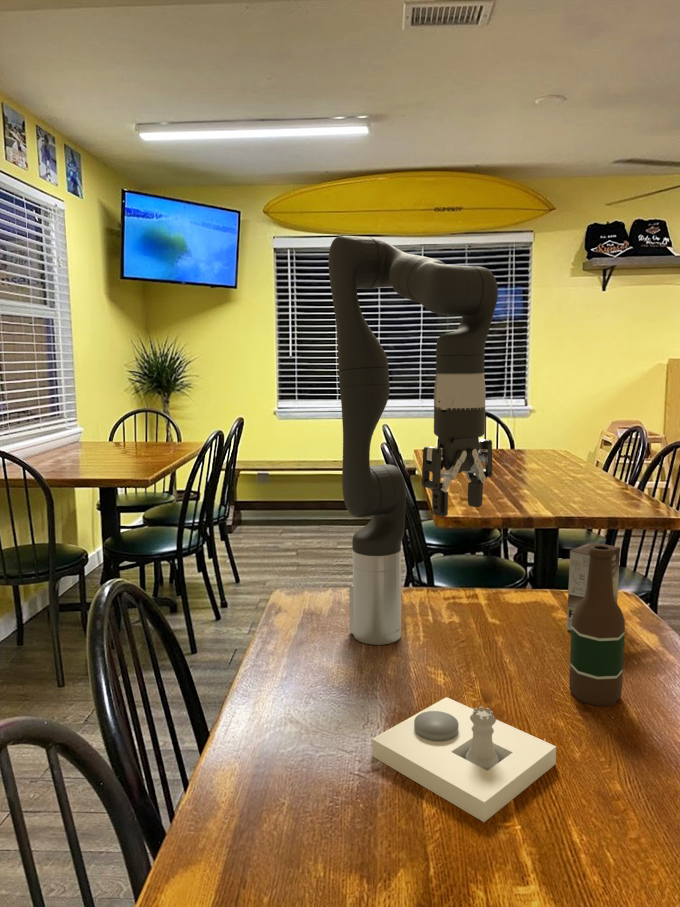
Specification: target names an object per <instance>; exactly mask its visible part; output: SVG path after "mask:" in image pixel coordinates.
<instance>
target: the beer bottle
mask: <svg viewBox="0 0 680 907" xmlns="http://www.w3.org/2000/svg"><path fill="white" fill-rule="evenodd" d="M588 554H589V555H590V562H589V571H588V580H587V588H586V592H585V596H584V598H583V599H582V600H581V601H580V603H579V604H578V605H577V607H576V609H575V611H574V613H573V618H572V626H571V631H570V652H569V653H570V655H569V656H570V657H569V678H568V679H569V691H570V693H571V694H572V693H573V694H572V695H573V696H574V697H575V698H576V700H578V701H579V702H583V703H585V704H588V705H592V706H595V707H604V706H614V705H616V703H617V702H618V701H619V699H620V698H621V696H622V691H623V678H624V677H623V676H624V660H625V659H624V656H625V655H624V654H625V638H626V624H625V623H626V622H625V616H624V614H623V611H622V609H621V607H620V606H619V604H618V602H617V603H616V601H615V600H614V593H613V567H612V557H613V556H614V555H615V554H614V550H613V549H612V548H610V547H608V546H602V545H595V546H592V547H590V549H589V552H588ZM617 700H618V701H617Z"/></svg>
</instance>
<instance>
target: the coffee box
mask: <svg viewBox="0 0 680 907" xmlns="http://www.w3.org/2000/svg"><path fill="white" fill-rule="evenodd" d="M595 545H602V546H608V547H610V548H612V549H613V550H614V554H615V555H614V556H613V557H612V567H613V593H614V600H615V601H616V603H617V604H618V598H619V596H618V595H619V594H618V593H619V580H620V576H619V574H620V559H621V558H620V557H621V547H620V546H615V545H610V544H609V545H608V544H605V543H596V542H592V541H590V542H588V543H585V544H583V545H580V546H577V547H575V548H573V549H570V550H569V565H568V566H569V568H568V590H567V592H568V594H567V597H568V598H567V611H566V612H567V618H566V630H567V631H570V632H571V626H572V618H573V613H574V611H575V609H576V607H577V605H578V604H579V603H580V601H581V600H582V599H583V598H584V596H585V592H586V588H587V580H588V571H589V562H590V555H589V554H588V552H589V549H590V547H592V546H595Z"/></svg>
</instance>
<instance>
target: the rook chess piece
mask: <svg viewBox="0 0 680 907" xmlns="http://www.w3.org/2000/svg"><path fill="white" fill-rule="evenodd" d="M473 709H474V711H473V714H472V715H471V716H470V719H471V721H472V723H473V724H474V725H473V726H472V728H471V729H472V731H473V739H472V744H471V747H470V748H469V751H468V752H467V754H466V756H465V759H466V760H468V761H470V762H471V763H473V764H475V765H477V766H479V767H481V768H483V769H485V770H487V771H488V770H489V769H491V768H492V767H493V766H495V765H496V764H498V763H499V759H498V757H497V755H496V752H495V750H494V749H493V741H492V734H493V732H494V730H493V728H492V725H493V724H494V723H495V722H496V720H497V718H496V717H495V716H494V712H493V710H491V709H490V708H489V707H486V709H485V710H484V706H479V707H474V708H473Z"/></svg>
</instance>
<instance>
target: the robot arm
mask: <svg viewBox="0 0 680 907" xmlns="http://www.w3.org/2000/svg"><path fill="white" fill-rule="evenodd" d="M328 276H329V283H330V290H331V298H332V303H333V311H334V318H335V325H336V337H337V338H336V339H337V340H336V341H337V360H338V361H337V362H338V363H337V364H338V380H339V393H340V394H339V395H340V401H341V402H340V404H341V405H340V406H341V417H342V418H341V419H342V469H341V470H342V474H341V476H342V478H341V481H342V482H341V484H342V486H341V488H342V496H343V497H342V498H343V502H344V505H345V508H346V510H347V512H348V513H349V514H350V515H351V516H352V517H354V518H366V517H371V516H372V517H371V519H370V520H369V522H367V524H366V525H365V526H363V527H362V528H360V529H359V530H357V531H356V532H354V535H353V536H352V540H351V541H352V542H351V543H352V546H351V547H352V584H351V585H350V586H349V587H348V588H349V590H348V593H349V594H348V596H349V597H348V598H349V600H348V601H349V605H348V606H349V633H350V634H351V635H353V638H354V639H355V640H356V641H358V642H360V643H363V644H367V645H375V646H378V645H380V646H381V645H388V644H392V643H395V642H397V641H398V640H400V638H401V636H402V541H403V538H404V535H405V526H406V522H405V521H406V519H405V518H406V506H407V488H406V487H407V486H406V482H405V479H404V475H403V473H402V471H401V470H400V469H399V468H398V467H397V466H396V465H394V464H389V463H388V464H378V465H370V464H371V462H370V459H371V457H370V456H371V454H370V451H371V443H372V439H373V436H374V431H375V430H376V428H377V426H378V423H379V421H380V420H381V417H382V415H383V413H384V410H385V409H386V407H387V403H388V400H389V396H390V372H389V361H388V357H387V354H386V352H385V350H384V348H383V347H382V346H383V345H382V344H381V343H380V341H379V340H378V339H377V337H376V335H375V334H374V332H373V330H371V328H370V326H369V325H368V322H367V321H366V319H365V317H364V314H363V313H362V310H361V309H362V308H361V306H360V302H359V297H358V289H359V290H373V289H378V288H379V289H381V288H393V290H394V292H396V294H398V295H399V296H401V297H402V298H404V299H407V300H410V301H413V302H415V303H418V304H420V305H421V306H423V307H424V308H425V310H427V311H429V312H430V313H434V314H437V315H441V316H442V315H443V316H461V320H460V323H459V326H458V327H457V329H456V330H453V331H451V332H445V333H444V334H441V335H440V336H439V337H438V338H437V341H436V344H435V345H436V346H435V347H436V348H435V349H436V351H435V355H436V356H435V372H436V374H435V379H434V380H435V382H434V386H433V387H434V390H433V434H434V435H435V436H436V437H438V444H437V447H435V446H424V447H423V450H422V470H421V487H422V488H425V489H426V488H427V489H428V490H431V493H432V494H431V497H432V498H431V499H432V501H431V502H432V503H431V504H432V505H431V510H432V514H433V515H434V516H437V517H442V518H444V517H447V516H448V514H449V491H448V489H449V486H450V485H451V482H452V481H453V480H455V479H456V478H457V476H458V474H460V473H464V474H465V475H466V477H467V479H468V481H469V482H468V483H467V504H468V507H473V508H479V507H480V508H481V507H482V505H483V500H484V499H483V497H484V496H483V495H484V493H483V492H484V483H485V482H486V480H487V479H488V478H491V477H492V476H493V472H494V471H493V440H491V439H485V438H482V437H483V436H484V435H485V434H486V431H485V430H486V392H487V390H486V383H485V382H486V381H485V380H486V379H485V353H486V352H485V348H486V342H487V340H488V335H489V333H490V329H491V324H492V322H493V321H492V320H493V317H494V314H495V310H496V308H497V307H496V306H497V302H498V296H499V289H498V288H499V287H498V283H497V282H498V281H497V279H496V277H495V275H494V273H492V271H491V270H490V269H489V268H487V267H483V266H472V265H471V266H470V265H458V264H456V265H455V264H446V262H443V261H442V260H439V259H436V258H432V257H428V256H423V255H419V254H418V255H417V254H413V253H406V252H404V251H403V250H401V249H399V248H397V247H395V246H393V245H392V244H391V243H388V242H387V241H385V240H382V239H380V238H378V237H371V236H370V237H369V236H358V235H357V236H356V235H355V236H353V235H339V236H336V237H335V238H334V239H333V240H332V242H331V244H330V247H329V251H328ZM483 463H485V465H484V466H485V468H484V466H483ZM431 473H432V479H431V478H430V477H431V476H430V475H431ZM441 479H443V480H442V481H441Z"/></svg>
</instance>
